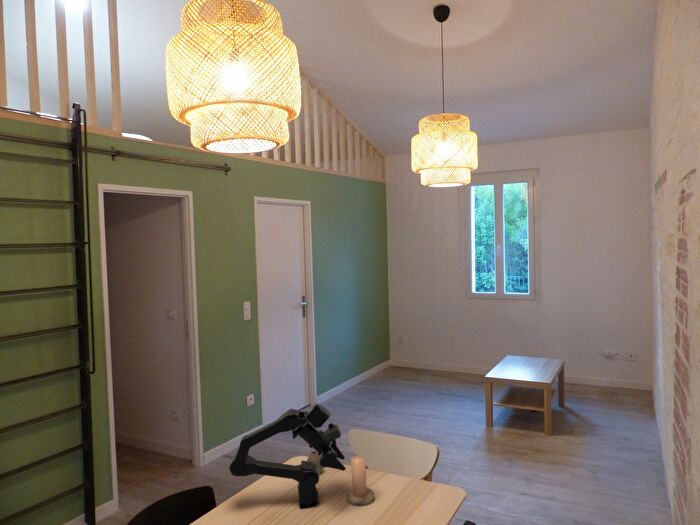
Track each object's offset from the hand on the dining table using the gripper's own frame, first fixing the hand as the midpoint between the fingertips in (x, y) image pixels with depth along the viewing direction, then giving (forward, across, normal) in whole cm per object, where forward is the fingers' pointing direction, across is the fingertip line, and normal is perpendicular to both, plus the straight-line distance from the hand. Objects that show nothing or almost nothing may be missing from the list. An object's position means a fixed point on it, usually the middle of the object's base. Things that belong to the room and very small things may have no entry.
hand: (344, 464), depth 189 cm
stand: (+13, 0, +6) cm, 14 cm away
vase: (+1, +25, +18) cm, 31 cm away
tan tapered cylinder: (+12, 0, +5) cm, 13 cm away
